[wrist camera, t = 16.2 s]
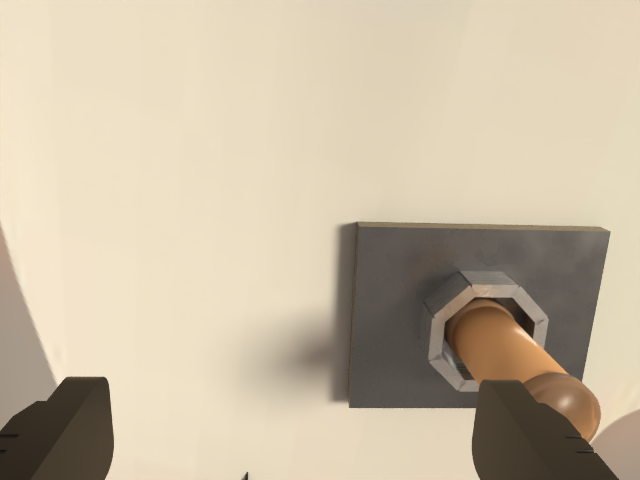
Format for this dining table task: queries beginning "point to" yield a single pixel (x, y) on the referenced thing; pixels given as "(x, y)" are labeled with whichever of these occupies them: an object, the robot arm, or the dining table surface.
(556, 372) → the capped orange cylinder
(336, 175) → the dining table surface
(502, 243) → the plate
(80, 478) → the robot arm
